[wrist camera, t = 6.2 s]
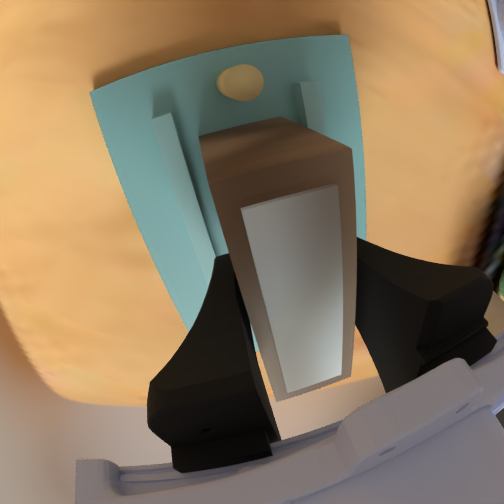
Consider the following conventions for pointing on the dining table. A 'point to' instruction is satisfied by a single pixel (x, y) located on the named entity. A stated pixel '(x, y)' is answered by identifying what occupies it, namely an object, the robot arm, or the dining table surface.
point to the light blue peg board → (211, 120)
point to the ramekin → (501, 283)
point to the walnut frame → (290, 245)
